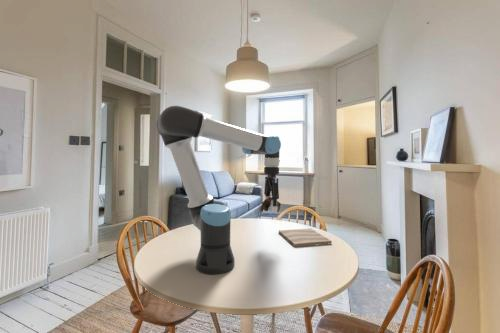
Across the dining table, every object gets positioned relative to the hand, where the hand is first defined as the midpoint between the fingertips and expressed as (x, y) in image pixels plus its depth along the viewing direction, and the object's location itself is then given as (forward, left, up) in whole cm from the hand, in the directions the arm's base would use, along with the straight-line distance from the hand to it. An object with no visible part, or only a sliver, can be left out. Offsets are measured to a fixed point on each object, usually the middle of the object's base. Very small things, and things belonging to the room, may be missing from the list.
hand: (270, 210), depth 121 cm
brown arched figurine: (0, +1, 0) cm, 1 cm away
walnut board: (+2, -19, -16) cm, 25 cm away
